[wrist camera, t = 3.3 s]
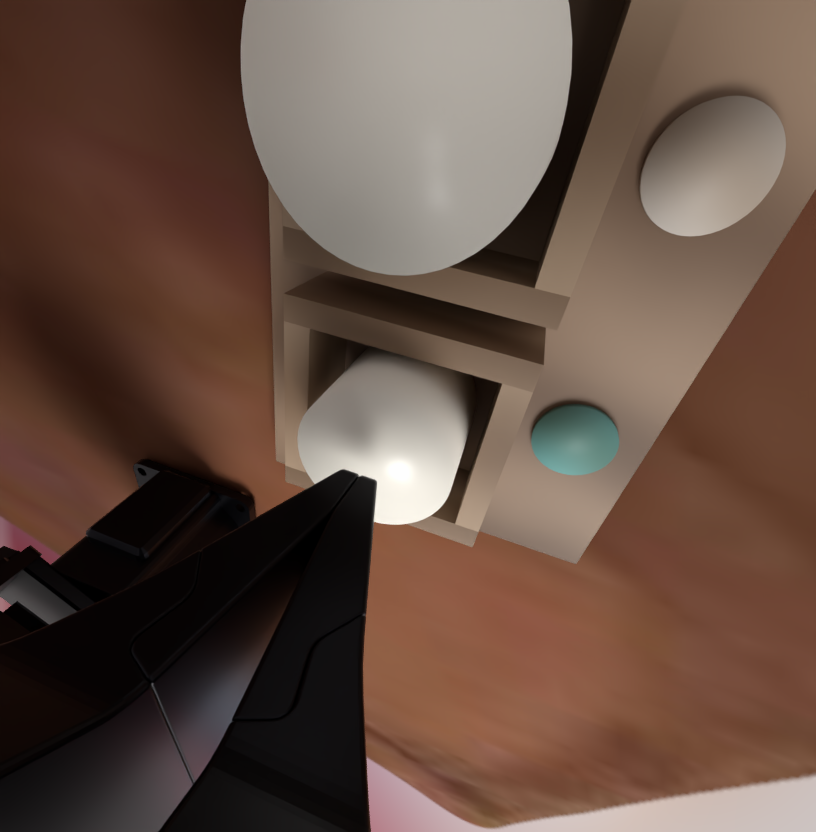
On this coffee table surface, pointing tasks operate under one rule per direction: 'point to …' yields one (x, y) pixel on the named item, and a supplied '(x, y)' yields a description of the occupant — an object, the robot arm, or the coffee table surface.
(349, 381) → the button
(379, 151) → the button mid
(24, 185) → the coffee table surface
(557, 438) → the board
